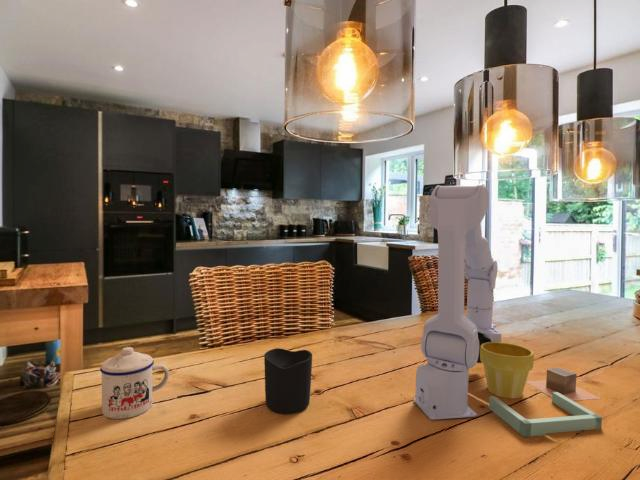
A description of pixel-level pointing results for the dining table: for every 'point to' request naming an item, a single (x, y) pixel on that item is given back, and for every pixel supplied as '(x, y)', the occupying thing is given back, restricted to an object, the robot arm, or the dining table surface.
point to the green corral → (541, 426)
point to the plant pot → (506, 367)
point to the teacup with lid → (128, 384)
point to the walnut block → (561, 380)
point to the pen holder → (287, 380)
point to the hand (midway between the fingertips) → (477, 361)
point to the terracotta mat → (574, 396)
